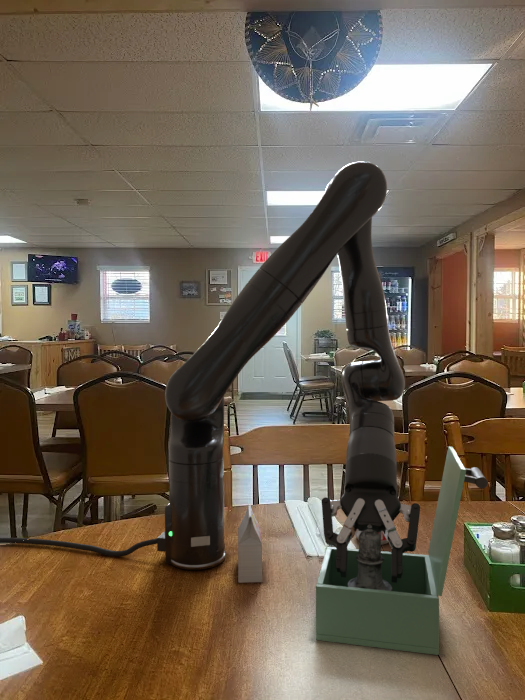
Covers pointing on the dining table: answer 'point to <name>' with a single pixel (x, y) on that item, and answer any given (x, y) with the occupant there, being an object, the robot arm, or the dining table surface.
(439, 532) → the box lid
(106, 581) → the dining table surface
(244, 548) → the white milk carton
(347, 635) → the box
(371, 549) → the salt shaker
